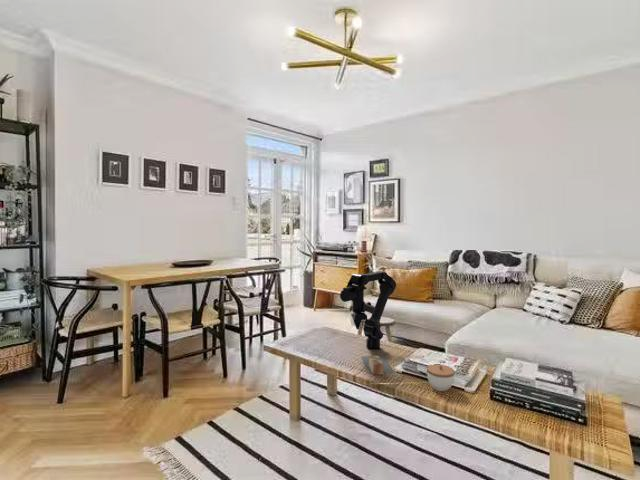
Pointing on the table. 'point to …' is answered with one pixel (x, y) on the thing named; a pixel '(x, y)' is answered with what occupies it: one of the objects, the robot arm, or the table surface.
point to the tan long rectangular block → (375, 365)
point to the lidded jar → (440, 376)
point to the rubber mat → (386, 365)
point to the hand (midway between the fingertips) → (357, 329)
